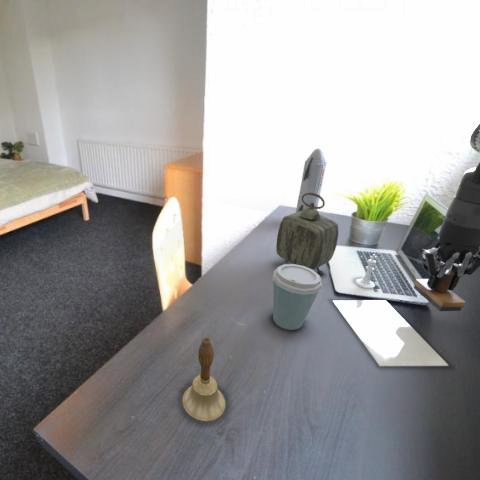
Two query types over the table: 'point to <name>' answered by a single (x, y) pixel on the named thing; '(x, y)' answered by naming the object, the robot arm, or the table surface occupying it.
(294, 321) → the disposable coffee cup
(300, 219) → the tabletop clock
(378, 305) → the tile
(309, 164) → the rocket model
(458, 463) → the table surface
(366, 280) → the chess piece
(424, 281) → the stamp
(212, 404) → the hand bell
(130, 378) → the table surface
